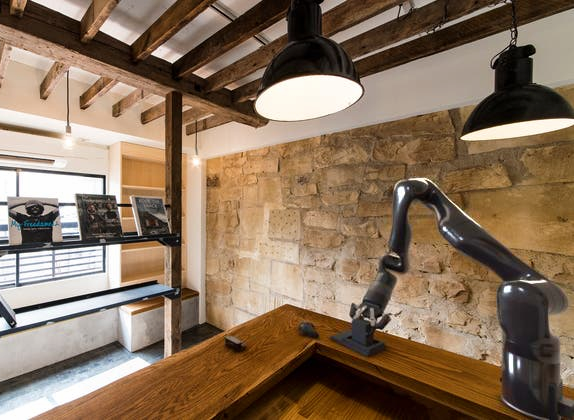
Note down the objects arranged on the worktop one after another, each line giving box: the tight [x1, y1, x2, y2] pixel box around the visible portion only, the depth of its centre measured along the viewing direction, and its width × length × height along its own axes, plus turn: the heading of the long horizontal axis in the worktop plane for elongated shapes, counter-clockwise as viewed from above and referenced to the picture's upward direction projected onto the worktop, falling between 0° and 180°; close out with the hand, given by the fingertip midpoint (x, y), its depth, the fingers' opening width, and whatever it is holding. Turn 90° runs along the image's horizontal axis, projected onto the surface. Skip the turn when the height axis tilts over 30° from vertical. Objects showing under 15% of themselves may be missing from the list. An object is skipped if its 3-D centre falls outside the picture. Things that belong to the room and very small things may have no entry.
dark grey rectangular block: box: [351, 318, 374, 347], centre depth 97 cm, size 5×5×8 cm
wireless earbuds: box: [224, 334, 248, 353], centre depth 95 cm, size 5×7×3 cm, turn 41°
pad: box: [330, 329, 387, 358], centre depth 99 cm, size 14×12×2 cm
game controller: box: [298, 321, 320, 339], centre depth 108 cm, size 10×5×6 cm
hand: (359, 332), depth 96 cm, fingers closed on dark grey rectangular block, 5 cm apart
